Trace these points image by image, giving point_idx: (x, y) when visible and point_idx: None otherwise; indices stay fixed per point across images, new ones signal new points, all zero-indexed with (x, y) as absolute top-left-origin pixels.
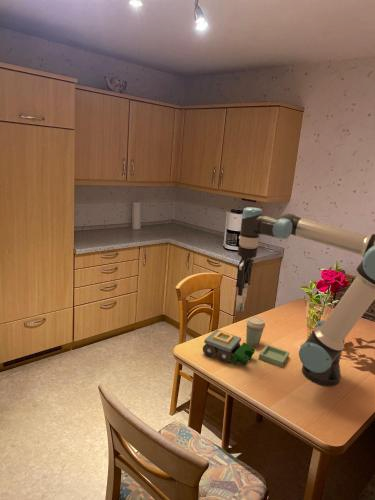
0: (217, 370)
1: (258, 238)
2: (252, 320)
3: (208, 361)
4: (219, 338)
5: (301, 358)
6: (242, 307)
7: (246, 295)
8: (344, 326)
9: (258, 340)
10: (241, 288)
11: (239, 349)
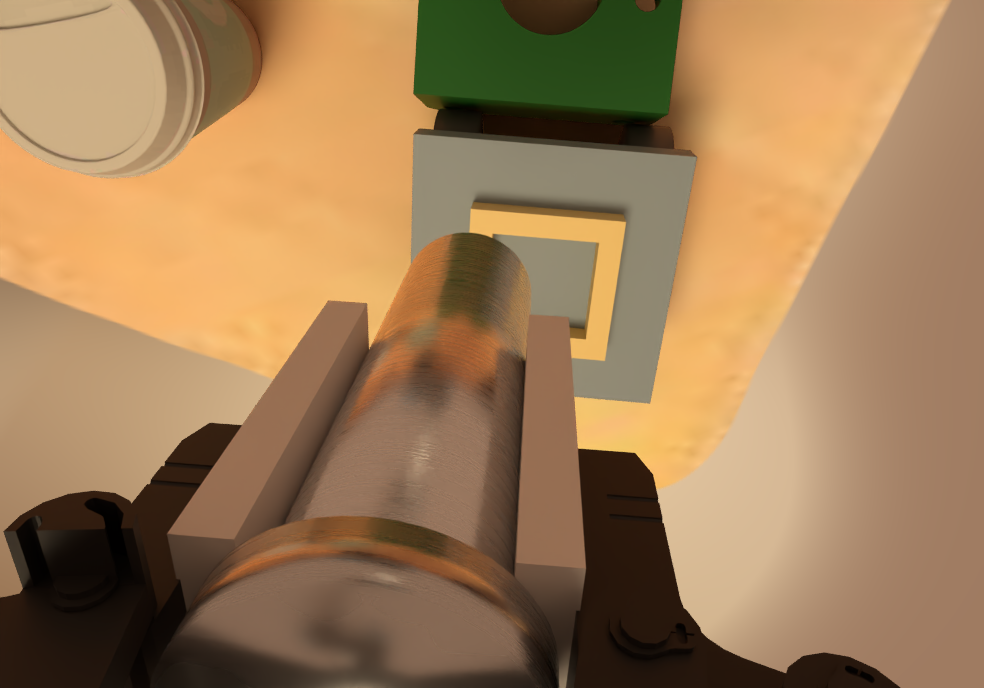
0: (779, 178)
1: None
2: (99, 113)
3: (690, 276)
4: (604, 305)
5: None
6: (498, 272)
7: (298, 348)
8: None
9: None
10: (705, 639)
11: (571, 90)
